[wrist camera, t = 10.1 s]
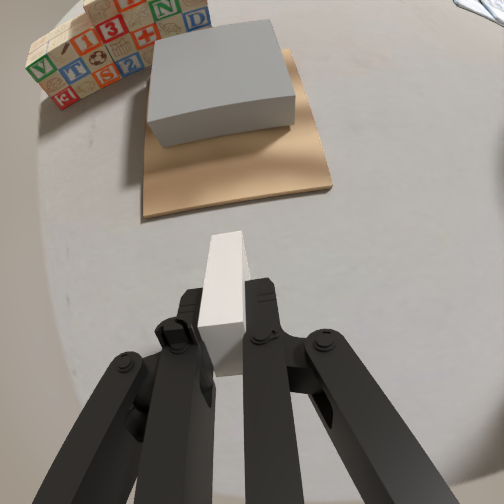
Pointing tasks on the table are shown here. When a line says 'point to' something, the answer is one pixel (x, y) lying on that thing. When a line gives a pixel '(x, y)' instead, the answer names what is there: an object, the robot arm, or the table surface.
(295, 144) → the mat
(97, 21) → the stack of blocks
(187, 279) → the table surface
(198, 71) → the block
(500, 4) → the folded white cloth
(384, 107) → the table surface
